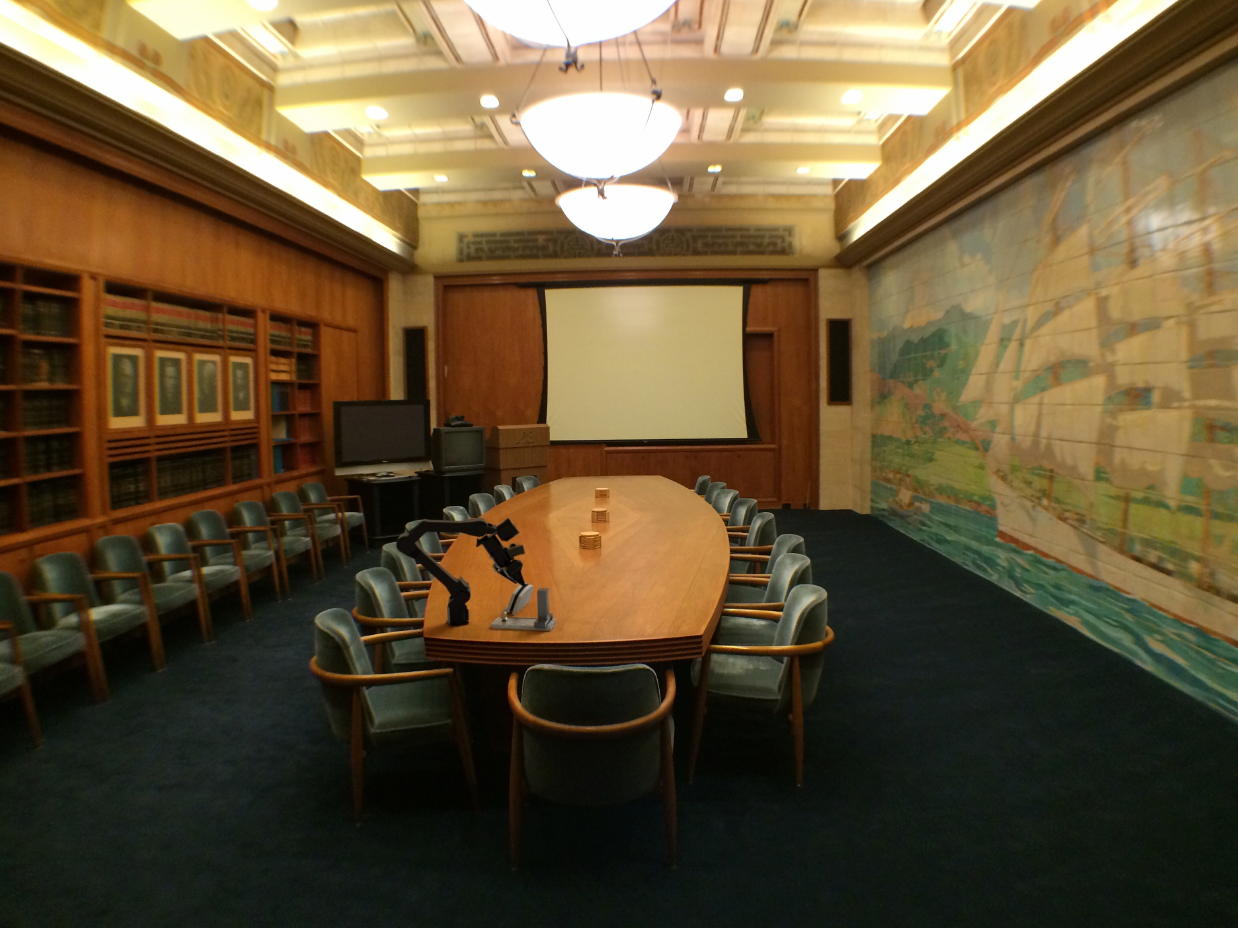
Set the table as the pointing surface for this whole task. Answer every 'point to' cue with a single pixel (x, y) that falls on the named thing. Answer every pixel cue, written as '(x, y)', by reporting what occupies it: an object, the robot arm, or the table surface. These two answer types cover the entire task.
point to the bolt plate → (519, 623)
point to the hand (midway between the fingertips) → (520, 584)
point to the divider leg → (542, 608)
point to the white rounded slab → (519, 598)
